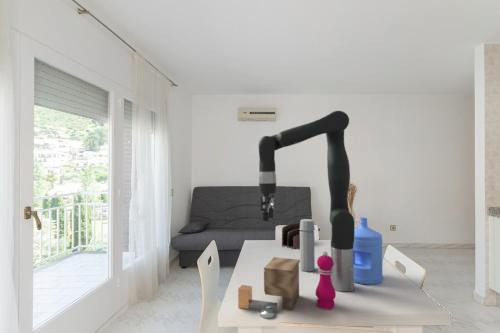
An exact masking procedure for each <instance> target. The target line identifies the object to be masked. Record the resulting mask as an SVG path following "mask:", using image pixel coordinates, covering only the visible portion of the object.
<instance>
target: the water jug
mask: <svg viewBox="0 0 500 333" xmlns="http://www.w3.org/2000/svg"><path fill="white" fill-rule="evenodd" d="M359 219H360V221H359V226H358V227H355V228H354V244H353V261H354V284H360V285H365V286H366V285H368V286H370V285H371V286H372V285H380V284H381V283H382V282H383V281H384V275H383V261H384V260H383V235H382V233H380V232H378V231H376V230H374V229H372V228H370V227H368V217H360V218H359Z"/></svg>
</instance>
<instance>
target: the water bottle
mask: <svg viewBox="0 0 500 333" xmlns="http://www.w3.org/2000/svg"><path fill="white" fill-rule="evenodd" d="M299 224H300V229H299V230H301V231H300V247H299V255H300V256H299V260H300V262H299V269H300V270H301V271H303V272H307V273H309V272H311V273H312V272H313V271H315V268H316V267H315V264H316V263H315V262H316V261H315V231H316V228H315V221H314V219H311V218H309V219H307V218H303V219H301V220H300V223H299Z"/></svg>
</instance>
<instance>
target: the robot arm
mask: <svg viewBox="0 0 500 333" xmlns="http://www.w3.org/2000/svg"><path fill="white" fill-rule="evenodd" d="M349 124H350V118H349V116H348V114H347V113H346V112H345V111H343V110H334V111H332V112H330V113H329V114H327V115H325V116H323V117H321V118H319V119H316V120H314V121H312V122H308V123H305V124H301V125H298V126H294V127H291V128H289V129H286V130H282V131H280V132H279V133H277V134H273V135H264V136H262V137H261V138H260V139H259V140H258V156H259V161H258V162H259V165H258V167H259V168H258V170H259V172H258V192H259V194H263V195H262V196H260V211H261V212H262V221H263V222H269V221H270V220H269V219H274V210H275V208H276V204H275V203H276V202H275V201H276V200H275V194H277V174H276V160H275V153H276V152H275V151H277V150H280V149H283V148H286V147H289V146H293V145H296V144H300V143H302V142H304V141H307V140H309V139H312V138H314V137H317V136H321V135H323V134H324V135H326V136H325V137H326V142H327V151H326V152H327V153H326V154H327V155H326V156H327V157H326V158H327V162H326V163H327V164H326V166H327V181H328V189H329V190H328V191H329V196H330V209H329V210H330V211H329V222H330V224H331V239H330V257H331V258H332V259H333V262H334V265H333V267H332V268H331V269H332V274H331V282H332V285H333V287H334V289H335V291H338V292H355V282H354V261H353V244H354V229H356V227H355V218H354V216H353V215H352V213H351V212H350V208H349V197H348V195H349V189H350V182H351V170H350V168H351V167H350V160H349V156H348V153H347V150H346V147H345V146H346V145H345V130H346V129H348V127H349Z"/></svg>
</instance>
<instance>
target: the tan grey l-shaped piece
mask: <svg viewBox="0 0 500 333" xmlns="http://www.w3.org/2000/svg"><path fill="white" fill-rule="evenodd" d="M237 291H238V292H237V295H238V296H237V298H238V300H237V302H238V304H237V305H238V306H237V308H239V309H242V310H254V311H259V312H260V311H261V310H262V309H265V308H270V309H273V310H274V311H275V313H276V312H277V310H278V303H277V302H271V301H265V300H257V299H253V286H252V285H246V284H245V285H244V284H241V285H240V286H239V287H238V289H237Z"/></svg>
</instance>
